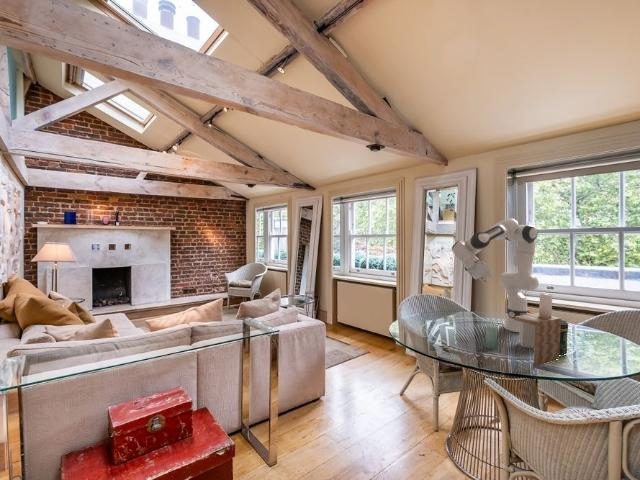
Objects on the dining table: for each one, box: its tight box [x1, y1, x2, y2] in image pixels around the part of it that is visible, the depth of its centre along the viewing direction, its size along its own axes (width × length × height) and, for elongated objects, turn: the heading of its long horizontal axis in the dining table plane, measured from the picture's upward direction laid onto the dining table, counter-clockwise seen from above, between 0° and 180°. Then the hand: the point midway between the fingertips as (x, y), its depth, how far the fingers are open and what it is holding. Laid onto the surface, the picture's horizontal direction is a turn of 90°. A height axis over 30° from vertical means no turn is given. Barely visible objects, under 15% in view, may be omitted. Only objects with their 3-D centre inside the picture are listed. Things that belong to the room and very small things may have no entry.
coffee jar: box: [559, 319, 569, 356], centre depth 175 cm, size 10×8×19 cm
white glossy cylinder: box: [538, 292, 553, 318], centre depth 168 cm, size 5×5×12 cm
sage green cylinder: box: [485, 325, 498, 351], centre depth 182 cm, size 5×5×12 cm
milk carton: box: [518, 313, 535, 349], centre depth 186 cm, size 7×7×19 cm
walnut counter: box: [514, 312, 562, 366], centre depth 167 cm, size 20×12×22 cm, turn 117°
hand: (488, 281), depth 194 cm, fingers open, 8 cm apart
